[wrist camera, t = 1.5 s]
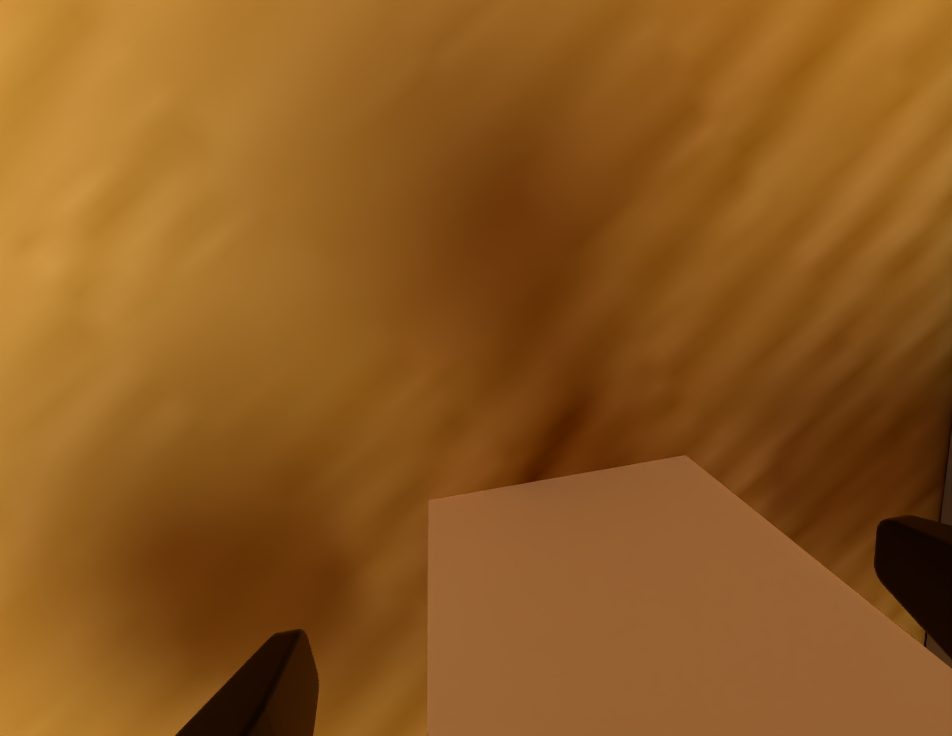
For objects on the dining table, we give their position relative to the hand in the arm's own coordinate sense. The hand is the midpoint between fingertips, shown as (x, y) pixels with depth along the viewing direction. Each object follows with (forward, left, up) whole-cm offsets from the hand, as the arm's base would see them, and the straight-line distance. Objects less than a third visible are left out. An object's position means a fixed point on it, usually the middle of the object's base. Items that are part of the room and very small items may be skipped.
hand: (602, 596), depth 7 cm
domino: (0, 0, -2) cm, 2 cm away
